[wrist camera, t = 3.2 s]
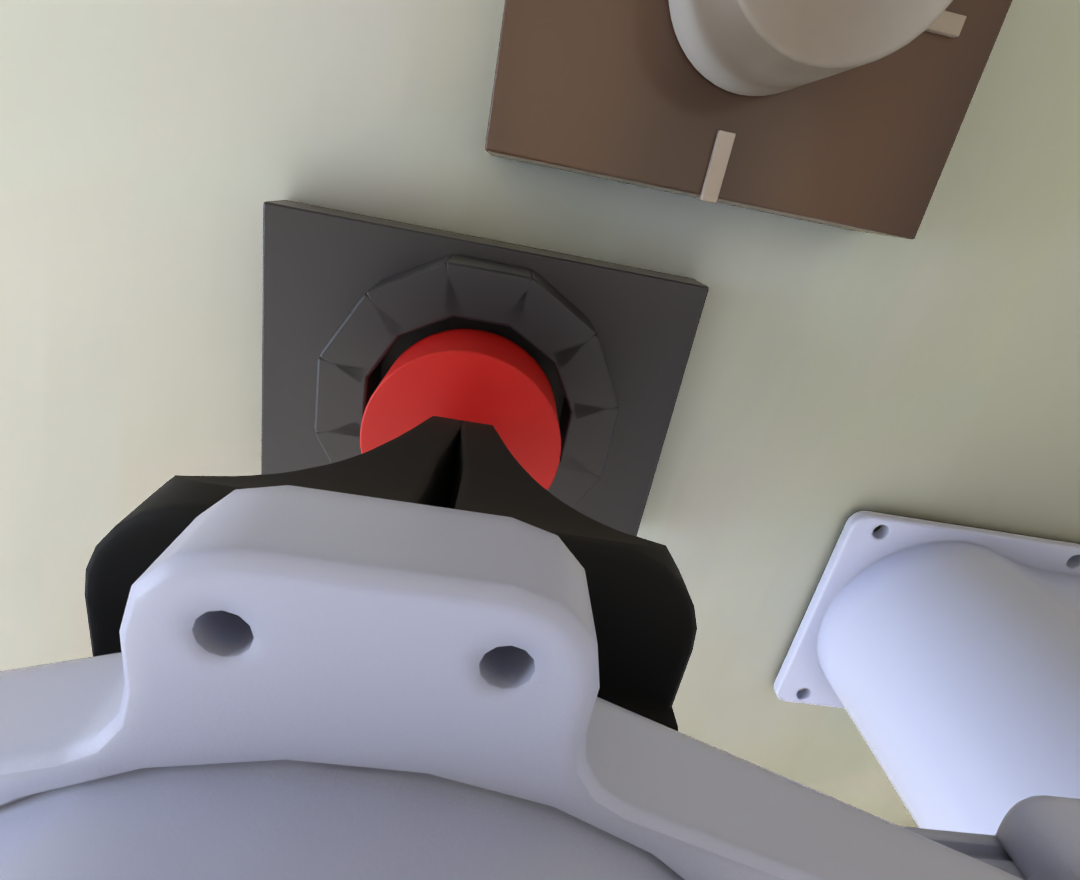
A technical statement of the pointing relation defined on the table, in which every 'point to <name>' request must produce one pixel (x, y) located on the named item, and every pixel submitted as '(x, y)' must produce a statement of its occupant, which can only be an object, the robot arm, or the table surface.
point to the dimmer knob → (793, 38)
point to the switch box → (469, 303)
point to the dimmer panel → (736, 114)
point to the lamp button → (470, 396)
